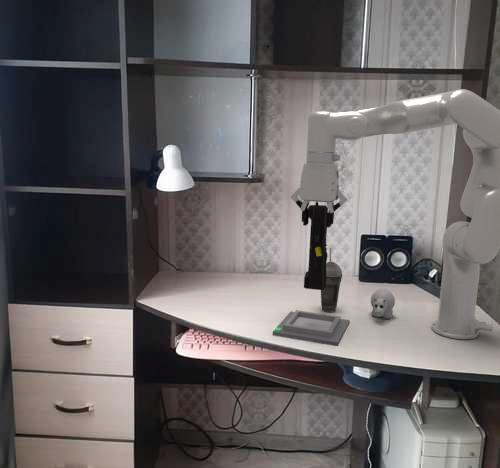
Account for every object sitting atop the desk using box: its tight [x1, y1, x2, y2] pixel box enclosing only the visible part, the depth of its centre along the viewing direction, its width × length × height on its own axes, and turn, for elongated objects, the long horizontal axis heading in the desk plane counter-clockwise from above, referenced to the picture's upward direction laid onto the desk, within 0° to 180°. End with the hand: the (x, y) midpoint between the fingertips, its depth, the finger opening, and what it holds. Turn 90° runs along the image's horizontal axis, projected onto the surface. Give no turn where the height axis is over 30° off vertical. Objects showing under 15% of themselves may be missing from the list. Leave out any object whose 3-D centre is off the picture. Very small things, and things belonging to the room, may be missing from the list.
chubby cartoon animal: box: [370, 288, 396, 320], centre depth 150 cm, size 7×12×8 cm, turn 154°
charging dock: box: [272, 309, 350, 347], centre depth 140 cm, size 18×18×2 cm
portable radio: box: [303, 201, 329, 291], centre depth 136 cm, size 8×6×25 cm
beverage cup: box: [320, 247, 343, 314], centre depth 155 cm, size 7×7×20 cm
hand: (317, 225), depth 135 cm, fingers closed on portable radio, 5 cm apart
